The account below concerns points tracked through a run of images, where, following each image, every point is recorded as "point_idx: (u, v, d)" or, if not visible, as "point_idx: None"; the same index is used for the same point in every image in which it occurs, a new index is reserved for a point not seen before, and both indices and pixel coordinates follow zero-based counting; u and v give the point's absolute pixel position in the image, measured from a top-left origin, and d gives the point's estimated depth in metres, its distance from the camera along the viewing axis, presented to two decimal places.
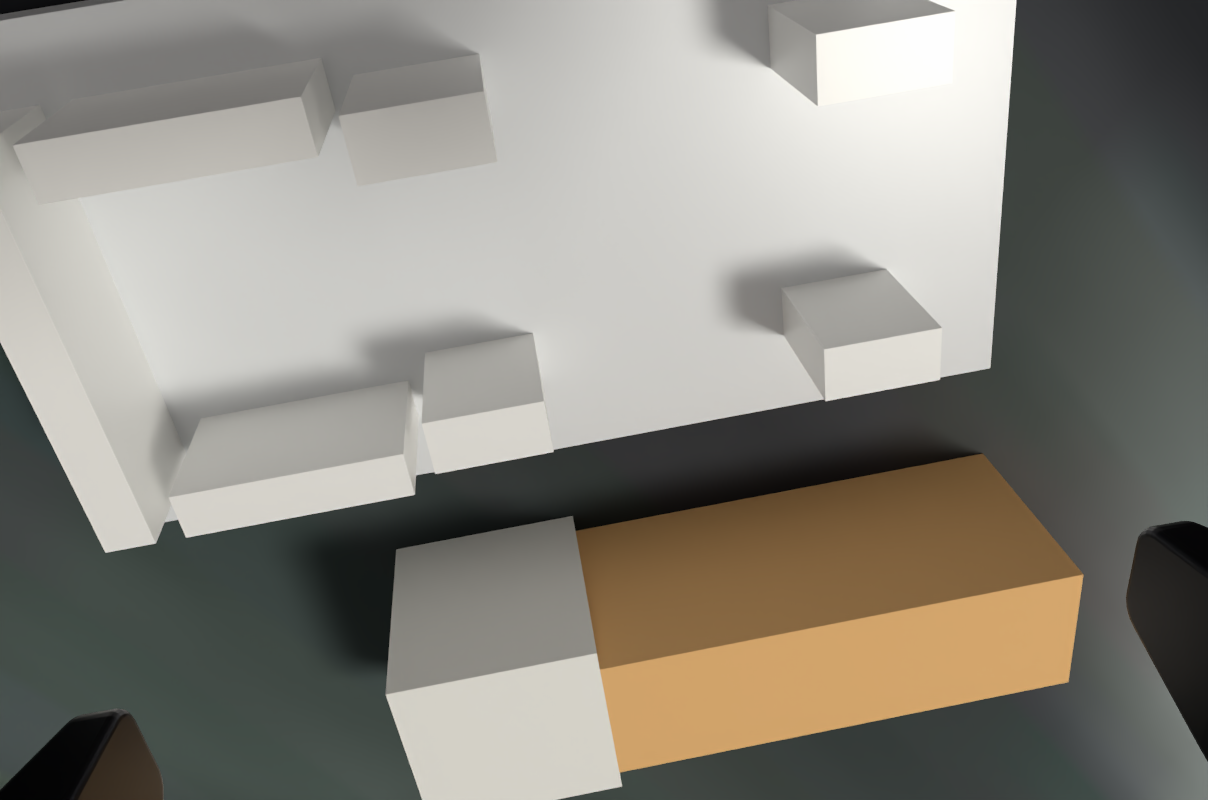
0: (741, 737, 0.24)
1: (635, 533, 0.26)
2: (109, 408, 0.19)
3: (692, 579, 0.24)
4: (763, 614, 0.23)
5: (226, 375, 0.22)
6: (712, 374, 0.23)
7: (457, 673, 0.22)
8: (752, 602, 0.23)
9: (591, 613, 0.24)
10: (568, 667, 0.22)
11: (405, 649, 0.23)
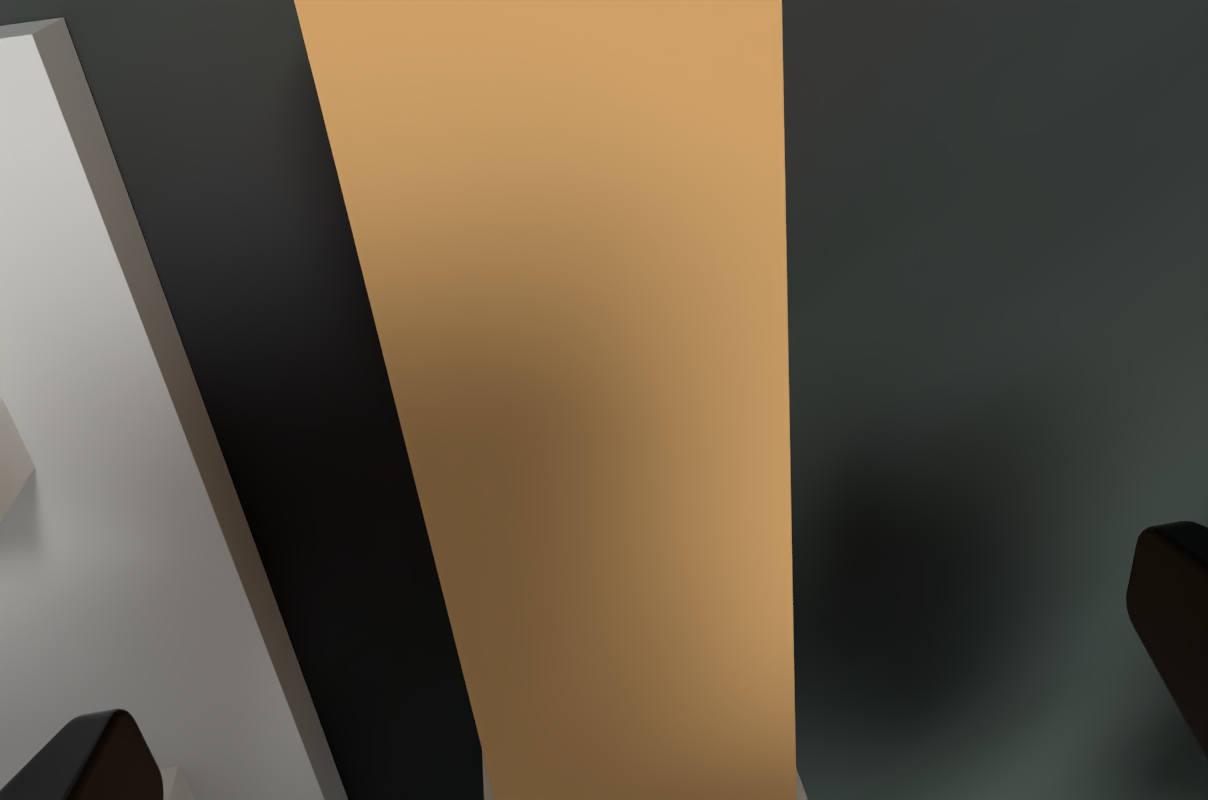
0: (765, 729, 0.11)
1: None
2: None
3: None
4: None
5: None
6: (136, 563, 0.14)
7: None
8: None
9: None
10: None
11: None
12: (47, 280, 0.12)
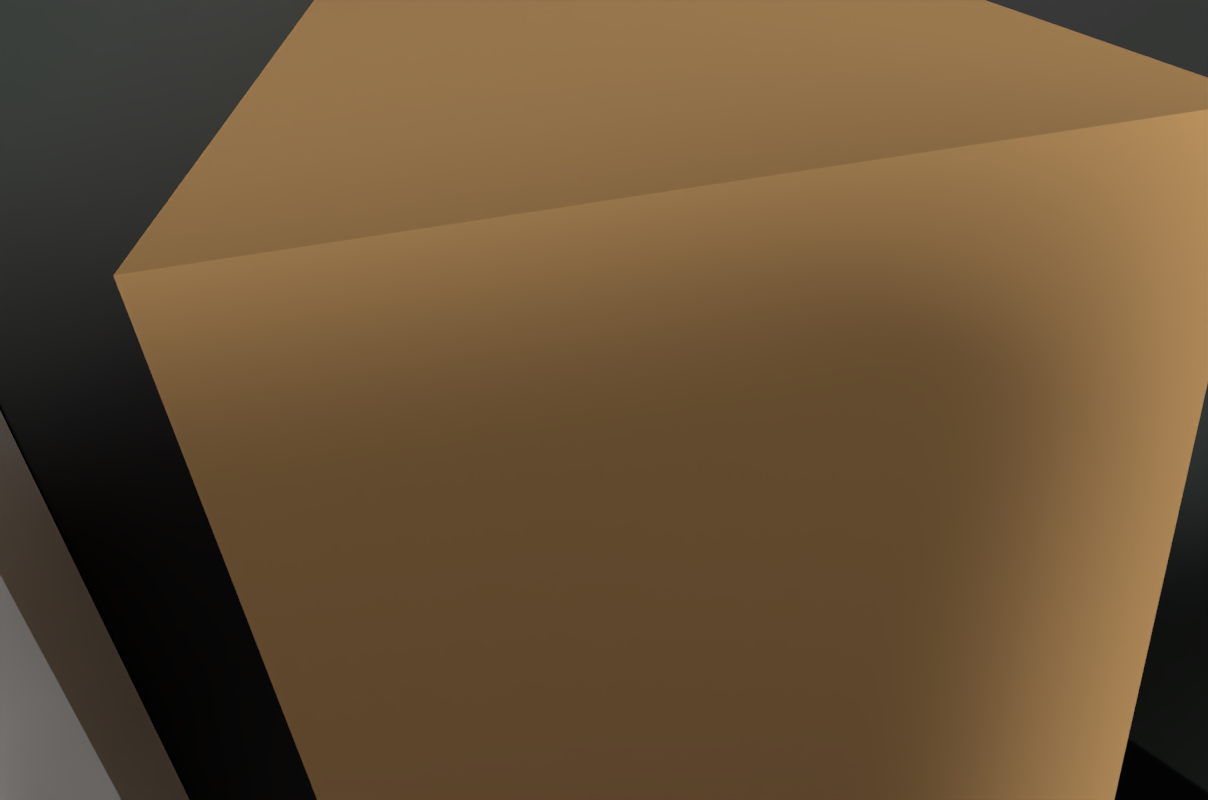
0: None
1: None
2: None
3: None
4: None
5: None
6: None
7: None
8: None
9: None
10: None
11: None
12: None
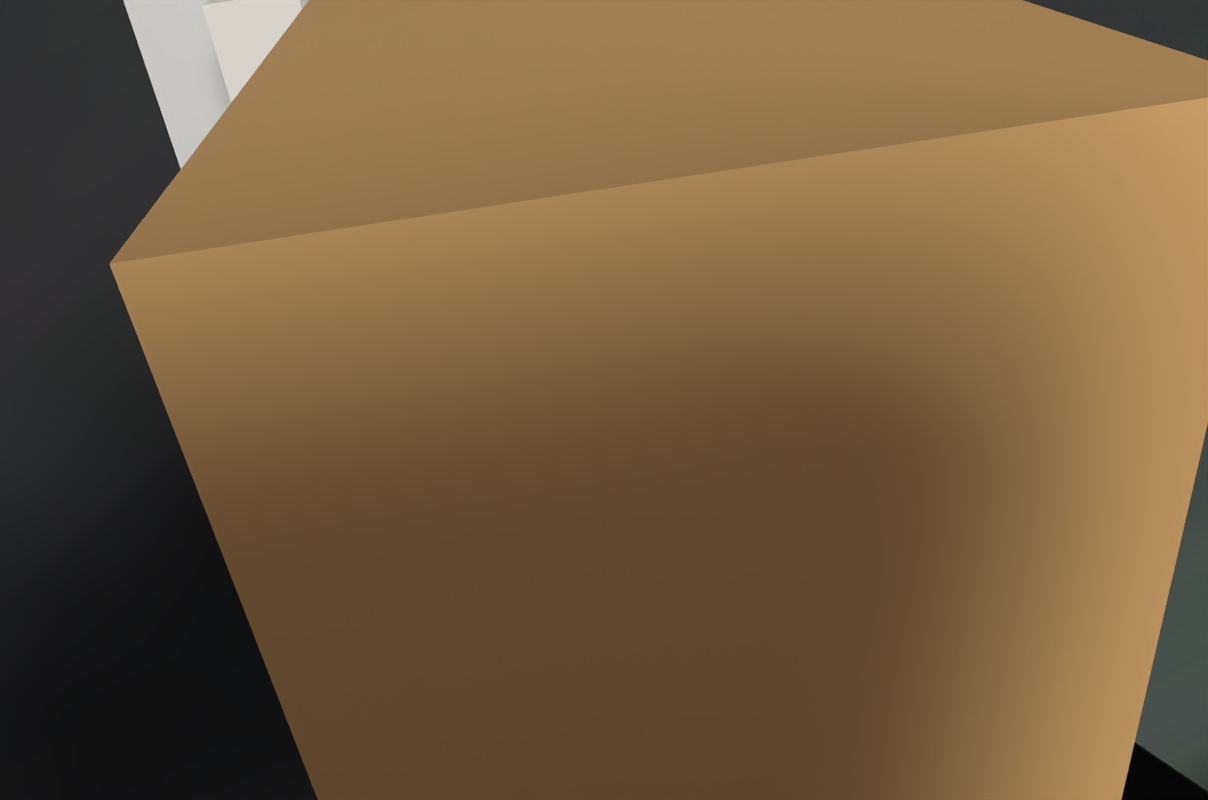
0: None
1: None
2: None
3: None
4: None
5: None
6: None
7: None
8: None
9: None
10: None
11: None
12: None
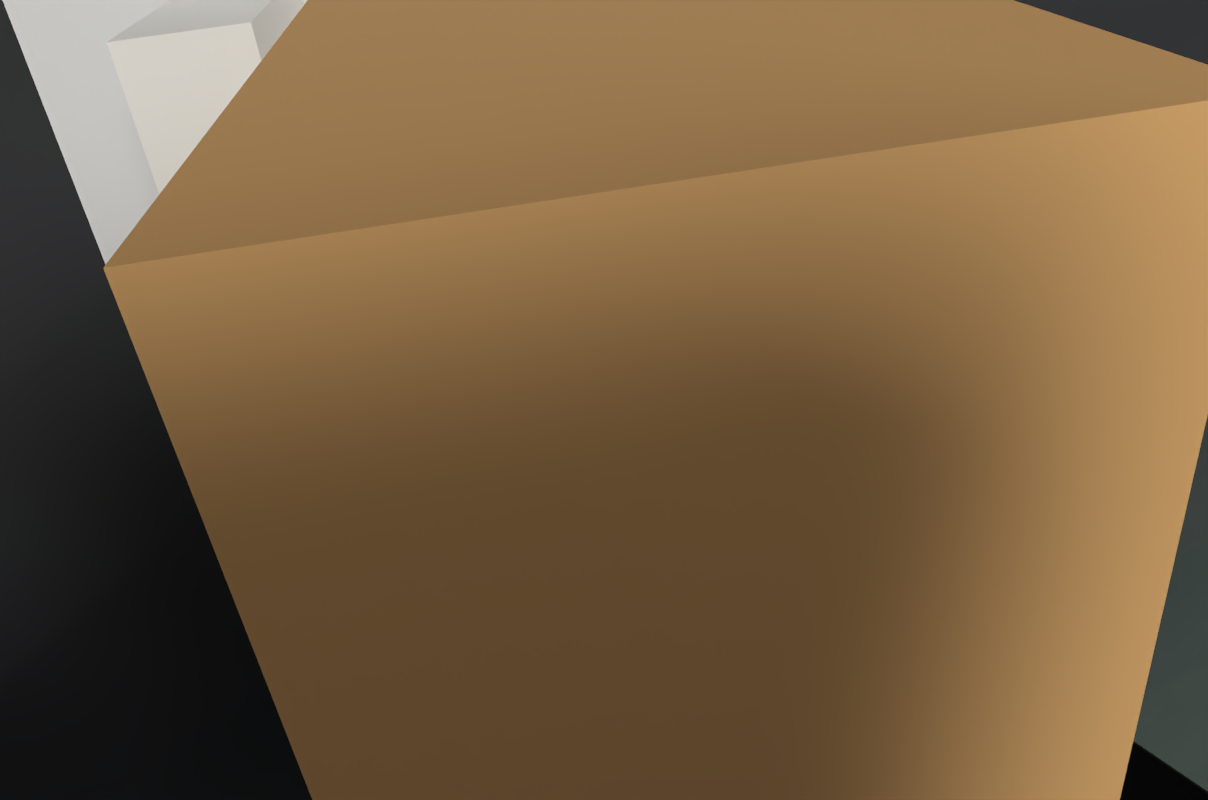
0: None
1: None
2: None
3: None
4: None
5: None
6: None
7: None
8: None
9: None
10: None
11: None
12: None
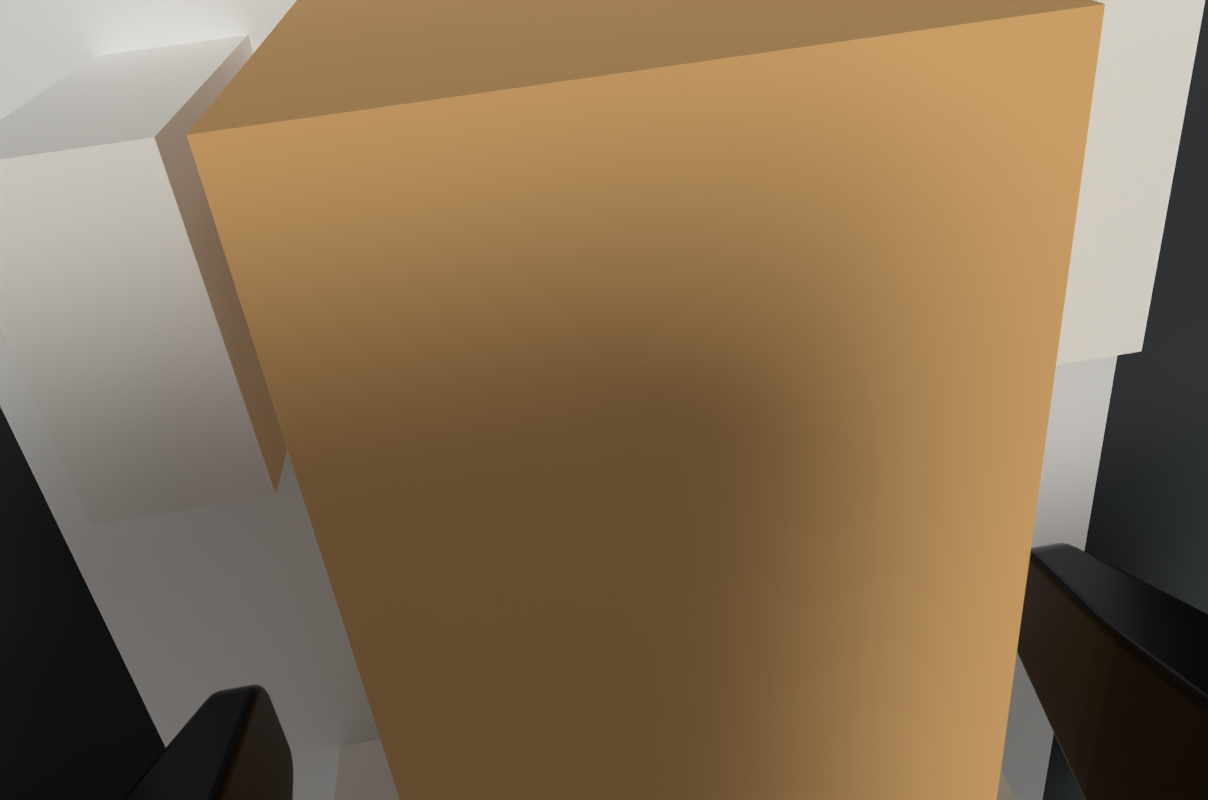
0: None
1: None
2: None
3: None
4: None
5: None
6: None
7: None
8: None
9: None
10: None
11: None
12: None
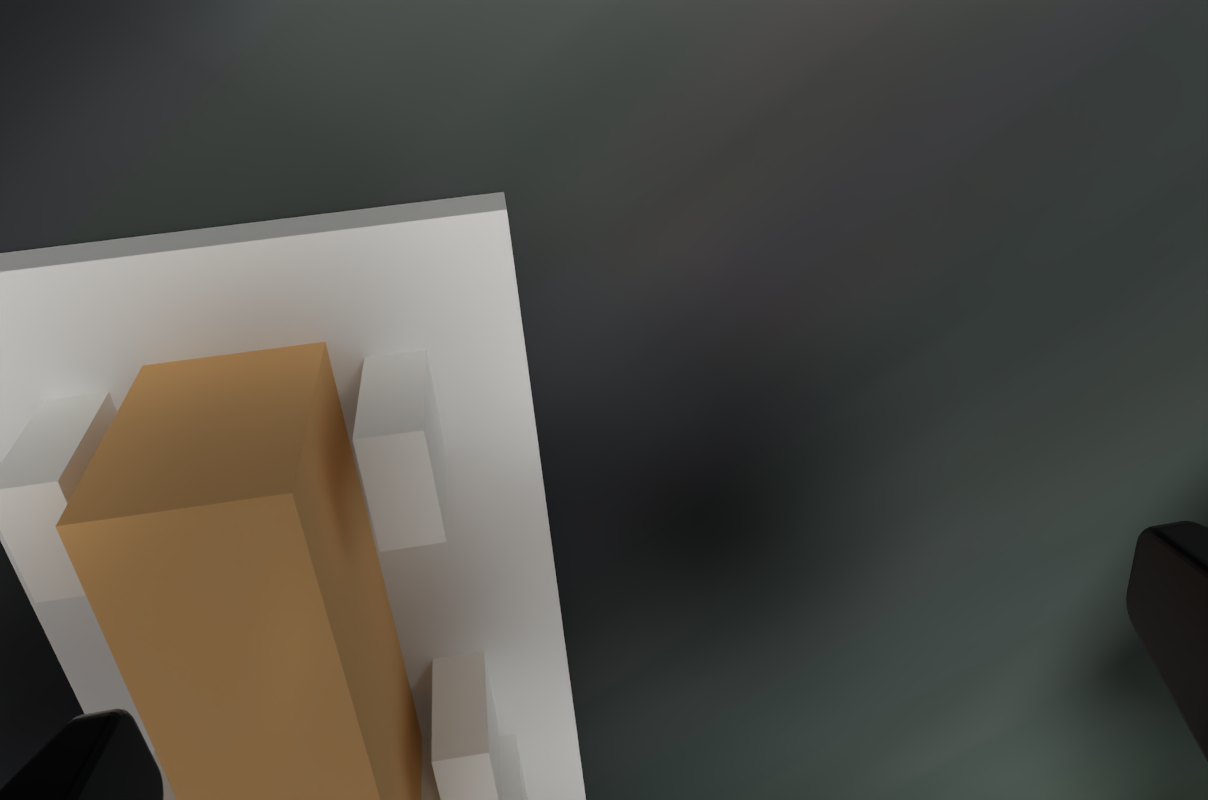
0: None
1: None
2: None
3: None
4: None
5: None
6: (489, 513, 0.22)
7: None
8: None
9: None
10: None
11: None
12: (480, 341, 0.20)
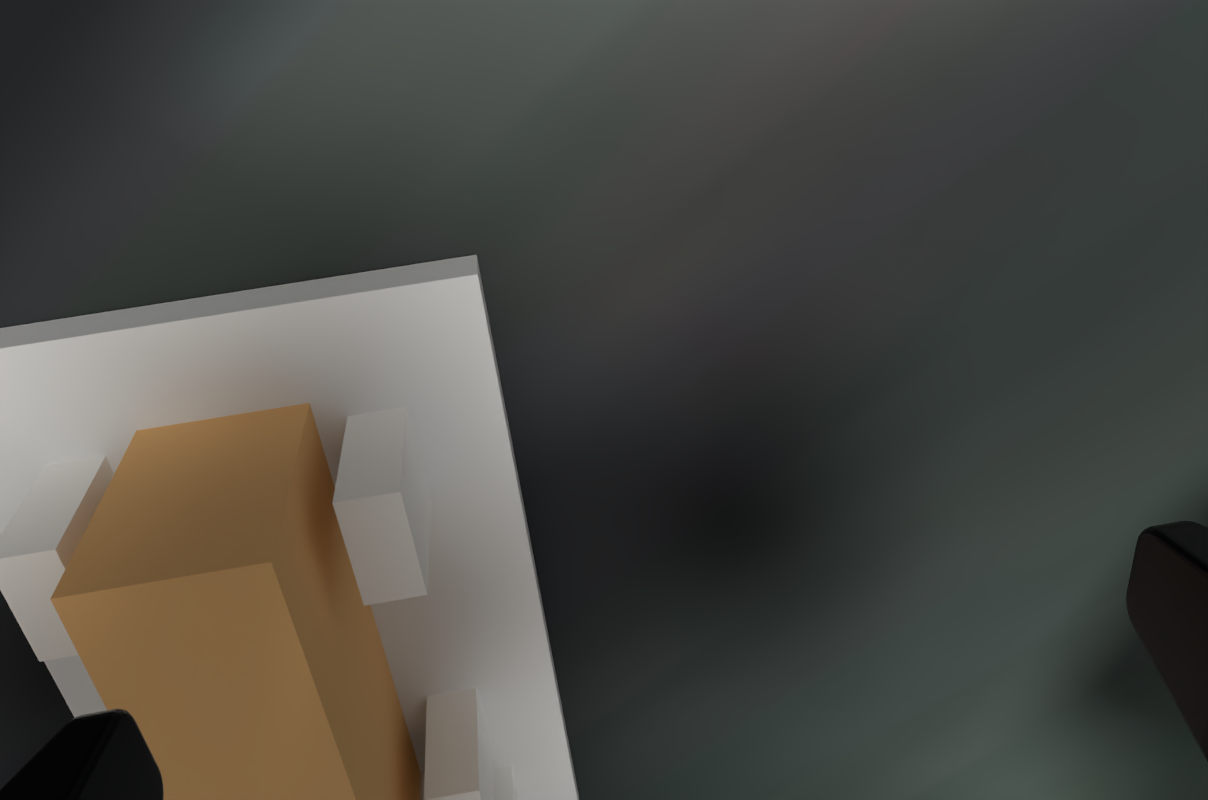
0: None
1: None
2: None
3: None
4: None
5: None
6: (475, 559, 0.23)
7: None
8: None
9: None
10: None
11: None
12: (458, 398, 0.21)
